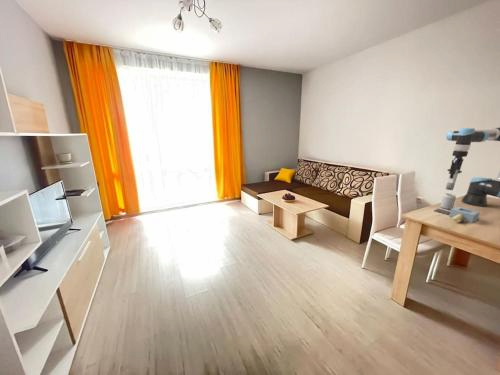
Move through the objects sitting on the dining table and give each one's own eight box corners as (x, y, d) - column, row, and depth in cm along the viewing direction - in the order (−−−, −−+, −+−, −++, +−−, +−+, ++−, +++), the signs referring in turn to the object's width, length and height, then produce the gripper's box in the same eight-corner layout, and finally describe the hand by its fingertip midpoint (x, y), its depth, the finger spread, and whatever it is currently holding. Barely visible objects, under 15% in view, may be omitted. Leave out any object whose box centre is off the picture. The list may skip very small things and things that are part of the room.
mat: (438, 209, 163) (438, 208, 163) (451, 212, 157) (451, 212, 157) (433, 211, 160) (433, 210, 160) (446, 214, 153) (447, 214, 153)
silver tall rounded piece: (443, 187, 157) (448, 168, 153) (456, 190, 151) (462, 170, 147) (441, 188, 155) (446, 169, 151) (454, 191, 149) (460, 171, 145)
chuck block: (455, 213, 156) (457, 206, 154) (477, 219, 146) (480, 211, 144) (443, 219, 145) (445, 211, 144) (466, 226, 135) (468, 218, 133)
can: (448, 207, 168) (453, 193, 165) (454, 210, 161) (459, 196, 158) (437, 206, 171) (441, 192, 167) (443, 209, 164) (447, 195, 160)
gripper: (458, 149, 152) (449, 179, 158) (449, 150, 144) (440, 182, 150) (472, 150, 146) (462, 181, 152) (463, 151, 138) (453, 184, 144)
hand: (451, 182), depth 151 cm, fingers closed on silver tall rounded piece, 4 cm apart
